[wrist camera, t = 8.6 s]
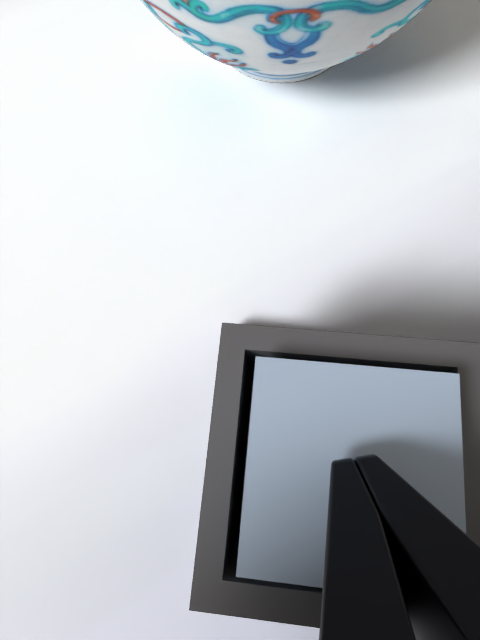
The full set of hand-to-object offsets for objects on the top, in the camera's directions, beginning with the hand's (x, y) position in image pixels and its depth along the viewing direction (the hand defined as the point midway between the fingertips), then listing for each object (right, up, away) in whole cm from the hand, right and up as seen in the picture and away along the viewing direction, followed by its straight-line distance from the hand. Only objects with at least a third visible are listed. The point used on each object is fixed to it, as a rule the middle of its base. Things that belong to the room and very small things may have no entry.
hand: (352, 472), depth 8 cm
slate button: (0, -1, +5) cm, 5 cm away
